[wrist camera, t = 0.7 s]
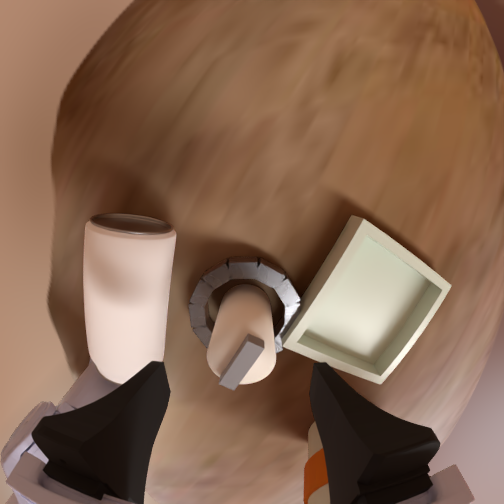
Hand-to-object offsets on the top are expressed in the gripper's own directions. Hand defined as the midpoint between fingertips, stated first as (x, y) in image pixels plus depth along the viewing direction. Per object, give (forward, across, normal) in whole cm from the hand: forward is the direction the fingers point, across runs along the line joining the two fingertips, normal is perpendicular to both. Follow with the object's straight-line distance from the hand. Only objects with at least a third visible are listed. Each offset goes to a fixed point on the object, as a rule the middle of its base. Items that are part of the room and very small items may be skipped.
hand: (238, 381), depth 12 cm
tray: (+10, -10, +1) cm, 14 cm away
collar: (+10, 0, +1) cm, 10 cm away
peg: (+10, 0, +1) cm, 10 cm away
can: (+7, +7, -7) cm, 12 cm away
